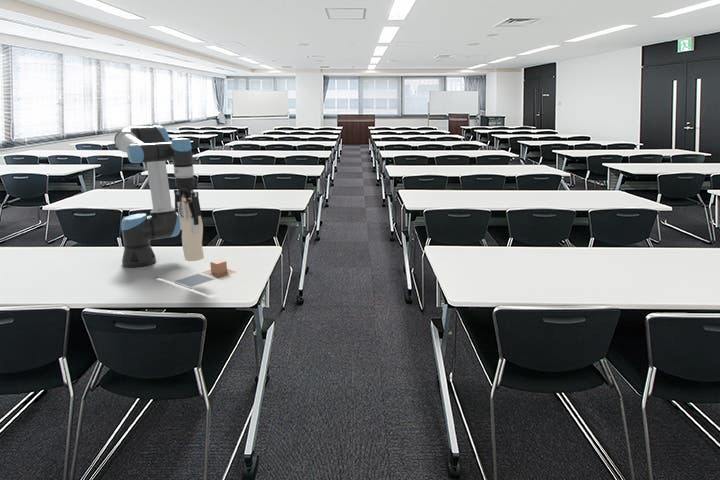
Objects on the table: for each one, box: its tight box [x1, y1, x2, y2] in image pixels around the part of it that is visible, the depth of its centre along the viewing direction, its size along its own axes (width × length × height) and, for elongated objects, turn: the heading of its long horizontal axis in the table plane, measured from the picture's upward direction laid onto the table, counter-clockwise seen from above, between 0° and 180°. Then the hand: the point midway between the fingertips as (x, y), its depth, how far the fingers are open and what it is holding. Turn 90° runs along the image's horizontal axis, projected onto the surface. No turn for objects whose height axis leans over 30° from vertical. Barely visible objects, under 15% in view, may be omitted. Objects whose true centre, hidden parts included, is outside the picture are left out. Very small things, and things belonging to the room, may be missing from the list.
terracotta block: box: [209, 258, 228, 275], centre depth 234 cm, size 5×5×5 cm
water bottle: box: [177, 194, 205, 262], centre depth 218 cm, size 10×9×28 cm
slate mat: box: [174, 273, 215, 290], centre depth 225 cm, size 12×12×1 cm
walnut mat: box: [201, 268, 237, 278], centre depth 235 cm, size 12×10×1 cm
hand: (189, 230), depth 219 cm, fingers closed on water bottle, 8 cm apart
